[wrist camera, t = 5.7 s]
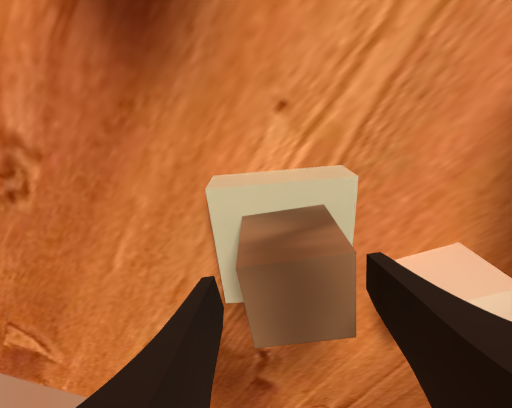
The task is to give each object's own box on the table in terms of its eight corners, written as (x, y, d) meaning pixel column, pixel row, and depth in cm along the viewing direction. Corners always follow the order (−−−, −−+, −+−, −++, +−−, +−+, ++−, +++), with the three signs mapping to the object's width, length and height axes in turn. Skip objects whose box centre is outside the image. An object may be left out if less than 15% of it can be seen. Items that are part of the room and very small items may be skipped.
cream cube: (458, 241, 17) (524, 287, 13) (459, 288, 18) (518, 341, 14) (393, 259, 17) (436, 308, 13) (400, 302, 19) (440, 358, 15)
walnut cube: (323, 204, 13) (356, 252, 9) (327, 270, 14) (356, 337, 10) (242, 216, 13) (235, 268, 9) (255, 280, 15) (255, 348, 11)
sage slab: (339, 163, 15) (358, 176, 12) (334, 266, 18) (348, 295, 15) (214, 173, 15) (205, 189, 12) (230, 273, 18) (225, 303, 16)
